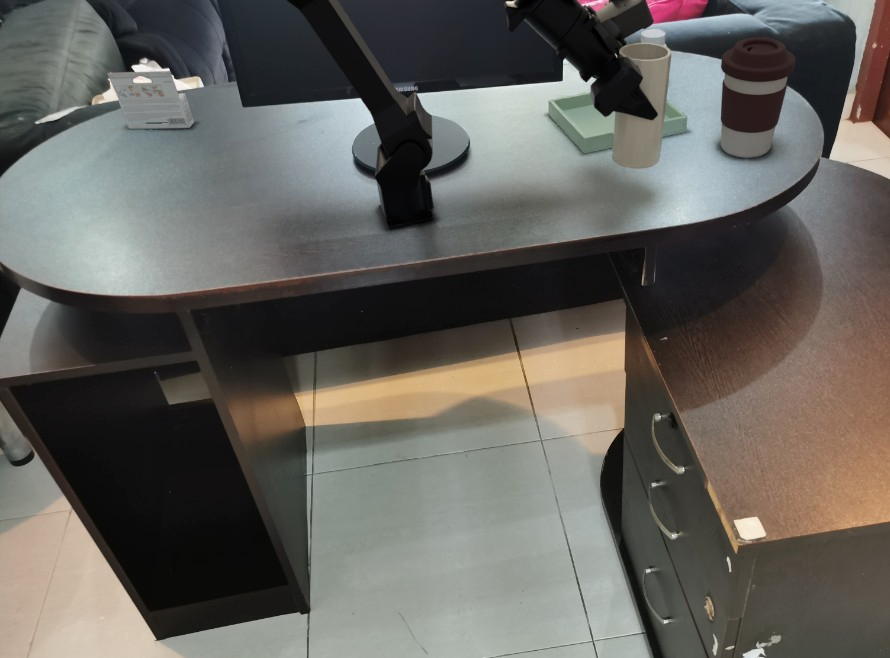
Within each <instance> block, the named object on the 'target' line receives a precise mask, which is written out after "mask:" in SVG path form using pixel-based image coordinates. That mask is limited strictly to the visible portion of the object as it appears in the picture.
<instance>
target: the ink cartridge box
mask: <svg viewBox="0 0 890 658" xmlns="http://www.w3.org/2000/svg"><path fill="white" fill-rule="evenodd" d="M106 75H107V76H108V79H109V81H110V83H111V86H112V87H113V90H114V92H115V94H116V97H117V99H118V104H119V106H120V109H121V112H122V114H123V115H122V116H123V117H124V120H125V122H126V121H138V122H168V123H162V124H127V123H126V125H127V126H126V127H127V128H128V129H129V130H147V129H149V130H152V129H155V130H156V129H190V128H191V127H192V126H193V125H194V124H195V120H194V117H193V114H192V111H191V107H190V104H189V102H188V99H187V95H186V93H179V92H178V89H177V86H176V83H175V81H174V78H173V75H172V72H171V70H163V71H162V70H161V71H160V70H159V71H124V72H122V71H121V72H119V71H117V72H107V73H106ZM138 77H143V78H145V79H148V80H150V81H151V82H134V80H135V79H137V78H138ZM191 119H192V120H191ZM190 120H191V121H190ZM170 122H171V123H170Z"/></svg>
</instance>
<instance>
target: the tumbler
mask: <svg viewBox="0 0 890 658" xmlns="http://www.w3.org/2000/svg"><path fill="white" fill-rule="evenodd" d="M672 55H673V54H672V50H671V49H670V48H669V47H668V46H667V47H665V46H662V45H659V44H653V43H641V42H635V43H629V44H626V46H623V47H622V48H621V49H620V50H619V57H629V58H630V59H631V60H632V61H633V62H634V64H635V65H636V66H637V65H638V67H639V69H640V71H641V73H642V76H643V80H642V82H641V84H640V88H641V89H642V91H643V92H644V93H645V95H646V96H647V98H648V99H649V101H650V102H651V104H652V105H653V107H654V108H655V110H656V111H657V113H658V116H657V117H656V118H655V119H654V120H652V121H651V120H647V119H644V118H640V117H636V116H632V115H628V114H624V113H619V112H615V118H614V132H613V147H612V150H611V153H612V155H611V159H612V161H613V162H614V163H615V164H617V165H618V166H621V167H623V168H627V169H635V170H636V169H647V168H651V167H654V166H656V165H657V164H658V163H659V162H660V159H661V156H662V155H661V154H662V145H663V138H664V137H663V128H664V119H665V109H666V100H668V98H667V97H668V90H669V83H670V82H669V81H670V72H671V64H672Z"/></svg>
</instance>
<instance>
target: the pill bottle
mask: <svg viewBox="0 0 890 658" xmlns="http://www.w3.org/2000/svg"><path fill="white" fill-rule="evenodd" d="M665 42H666V32H665V30H662V29H659V28H650V29H649V28H647V29H644V30H643V31H642V32H641V34H640V43H653V44H659V45H662V46H665V47H667V48H668V45H667V44H666V43H665Z"/></svg>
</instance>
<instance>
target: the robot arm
mask: <svg viewBox="0 0 890 658" xmlns="http://www.w3.org/2000/svg"><path fill="white" fill-rule="evenodd" d="M500 1H502V2H504V4H503V5H504V8H505V12H506V24H507V30H508V31H509V32H510V33H514V32H515V31H516V30H517V28H518V27H519V26H520V25H521V24H522V23H523V22H525V23H526V24H527V25H529V26H530V27H531V29H533V30H534V31H535V32H536V33H537V34H538V35H539V36H540V37H542V39H543V40H545V41H546V42H547V43H548V44H549V46H551V47H552V48H553V49H554V51H555V54H556V56H557V57H558V58H559V59H560V60H561V61H562V62H563V61H564V60H566V61H567V63H569V64H570V65H571V66H572V67H574V69H575V70H577V71H578V75H579V77H580V78H581V80H583V81H584V83H586V84H587V83H588V82H589V80H591V79H592V78H593V79H595V80H594V81H593V82H592V83H591V84H590V87H589V89H590V90H589V92H590V97H591V99H592V102H593V105H594V108H595V109H597V110H598V111H599V112H600V113H601V114H602V115H603V116H604V117H607V116H609V115H610V114H611V113H612V112H613V111H614V112H619V113H624V114H628V115H632V116H636V117H640V118H644V119H647V120H651V121H652V120H654V119H655V118H656V117H657V116H658V113H657V111H656V110H655V108H654V107H653V105H652V104H651V102H650V101H649V99H648V98H647V96H646V95H645V93H644V92H643V91H642V89H641V88H640V84H641V82H642V80H643V76H642V73H641V71H640V69H639V67H638V65H637V66H636V65H635V64H634V62H633V61H632V60H631V59H630V58H629V57H619V50H620V49H621V48H622V47H623V46H626V45H627V41H626V38H628V37H630V36H632V35H634V34H635V33H637V32H639V31H641V30H647V29H649V28H651V26H652V25H653V24H654V22H655V20H654V17H653V14H652V12H651V10H650V6H649V5H648V1H647V0H608V1H606V2H604V6H603V7H602V8H600V9H599V10H597V11H596V9H594V8H593V7H592V6H591V5H586V4H584V5H583V4H582V3H580V1H579V0H500ZM285 2H287V3H288V4H290V5H291V6H292V7H294V8H295V9H296V10H298V11H299V13H300V14H301V15H302V16H303V17H304V19H305V20H306V22H307V23H308V25H309V26H310V28H311V29H312V30H313V32H314V33H315V35H316V36H317V38H318V39H319V40H320V42H321V43H322V45H323V46H324V48H325V50H326V51H327V52H328V53H329V56H330V57H331V58H332V59H333V61H334V62H335V64H336V65H337V66H338V68H339V70H340V71H341V73H342V74H343V75H344V77H345V78H346V79H347V81H348V82H349V84H350V85H351V87H352V89H353V90H354V91H355V93H356V94H357V96H358V97H359V99H360V100H361V101H362V103H363V105H364V106H365V107H366V109H367V110H368V111H369V114H370V115H371V118H372V120H373V123H374V126H375V129H376V132H377V135H378V137H379V140H380V144H379V145H378V147H377V153H376V163H375V174H374V179H375V181H376V186H377V192H378V198H379V202H380V204H379V205H378V209H379V211H380V214H381V216H382V218H383V220H384V222H385V224H386V227H387V229H388V230H393V229H399V228H403V227H408V226H412V225H416V224H422V223H425V222H429V221H433V220H434V219H435V217H434V213H433V210H434V207H435V206H434V199H433V198H434V197H433V191H432V185H431V184H432V183H431V181H430V180H429V178H428V176H427V175H426V172H425V171H424V169H425V168H427V167H428V166H429V164H430V163H431V162H432V159H433V154H434V153H433V152H434V151H433V149H434V148H433V147H434V146H433V145H434V144H433V143H434V142H433V115H432V114H430V113H429V112H427V110H426V109H425V108H424V106H423V104H422V103H421V100H420V98H419V95H418V94H417V92H413V93H412V94H411V95H409V96H408V97H406V96H405V95H404V94H402V93H401V92H400V91H398V89H397V88H396V87H395V86H394V85H393V83H392V81H391V80H390V79H389V77H388V75H387V73H386V72H385V71H384V68H382V66H381V64H380V63H379V61H378V59H376V57H375V55H374V54H373V53H372V51H371V49H370V48H369V46H368V44H367V43H366V42H365V40H364V39H363V37H362V36H361V34H360V33H359V31H358V30H357V28H356V26H355V25H354V23H353V21H352V20H351V19H350V17H349V16H348V14H347V12H346V11H345V10H344V8H343V6H342V5H341V3H340V2H339V0H285Z"/></svg>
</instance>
